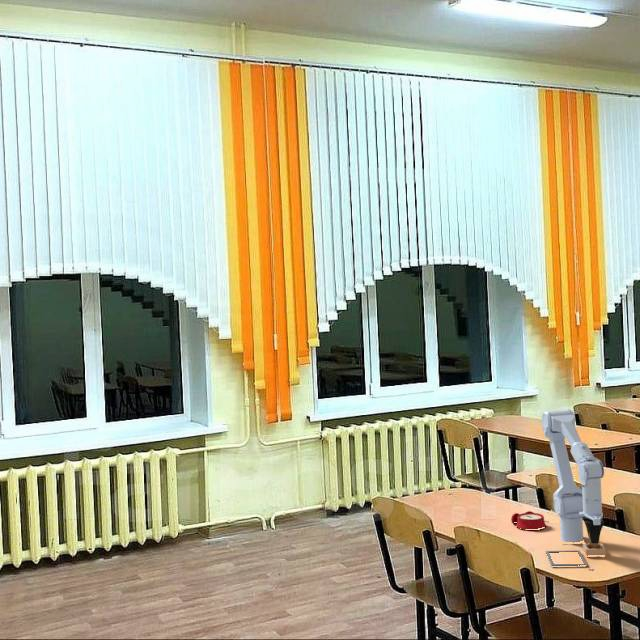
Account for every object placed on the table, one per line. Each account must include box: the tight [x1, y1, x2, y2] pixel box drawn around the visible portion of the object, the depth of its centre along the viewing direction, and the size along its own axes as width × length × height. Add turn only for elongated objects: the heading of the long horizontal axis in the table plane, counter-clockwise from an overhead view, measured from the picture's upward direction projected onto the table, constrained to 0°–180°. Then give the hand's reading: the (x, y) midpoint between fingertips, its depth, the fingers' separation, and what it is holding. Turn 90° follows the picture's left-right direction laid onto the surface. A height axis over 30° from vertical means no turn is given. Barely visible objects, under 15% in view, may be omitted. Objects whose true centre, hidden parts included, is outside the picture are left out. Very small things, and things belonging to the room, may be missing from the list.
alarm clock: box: [510, 510, 550, 530], centre depth 305 cm, size 10×6×15 cm
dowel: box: [588, 535, 600, 549], centre depth 269 cm, size 3×3×8 cm
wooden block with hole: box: [582, 542, 607, 556], centre depth 269 cm, size 6×6×3 cm
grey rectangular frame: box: [545, 550, 588, 567], centre depth 265 cm, size 14×11×1 cm
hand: (593, 541), depth 269 cm, fingers closed on dowel, 3 cm apart
